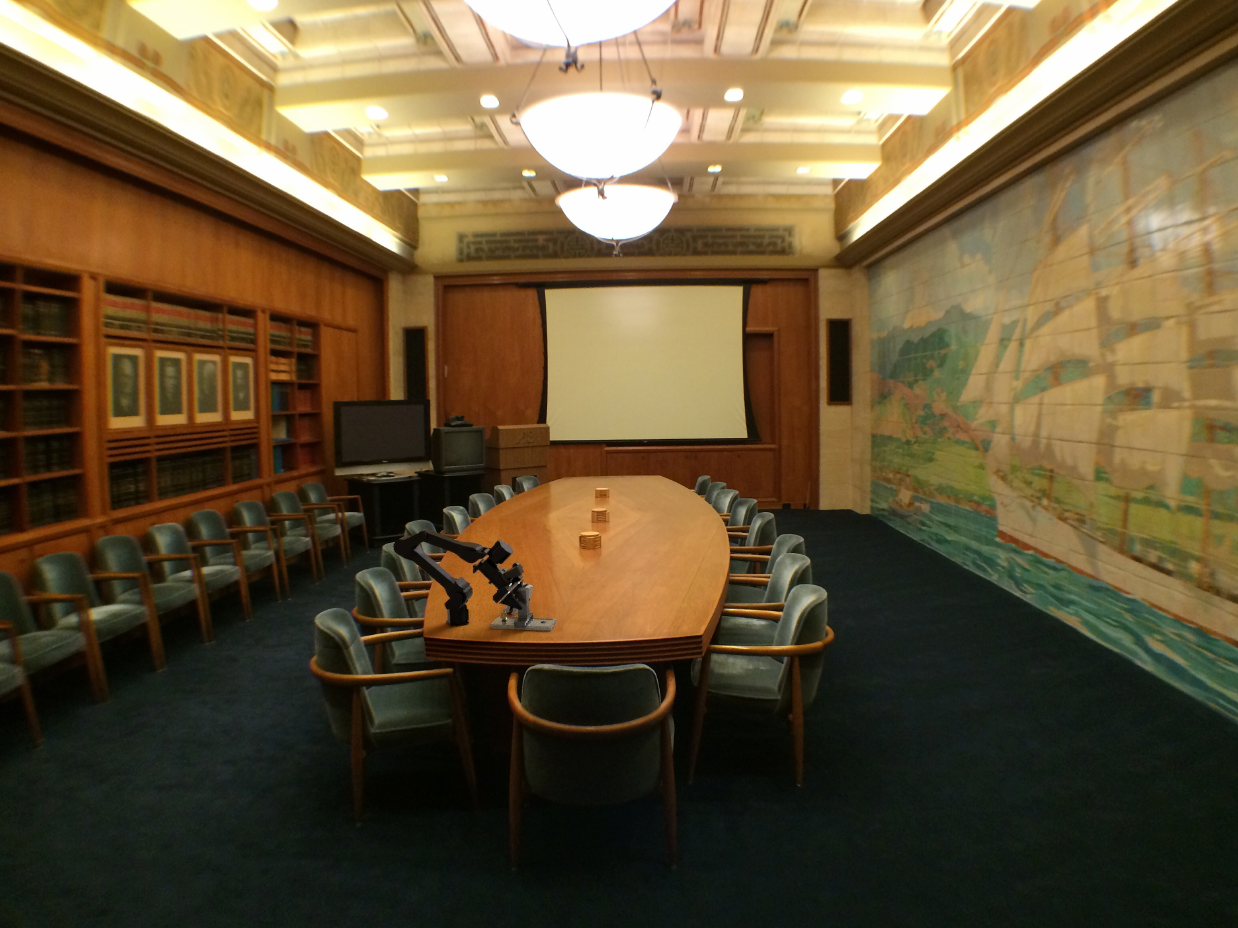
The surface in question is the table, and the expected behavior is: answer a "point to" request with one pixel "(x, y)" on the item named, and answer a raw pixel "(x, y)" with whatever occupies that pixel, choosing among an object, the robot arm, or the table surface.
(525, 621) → the leg
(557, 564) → the table surface
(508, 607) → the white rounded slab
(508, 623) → the bolt plate
